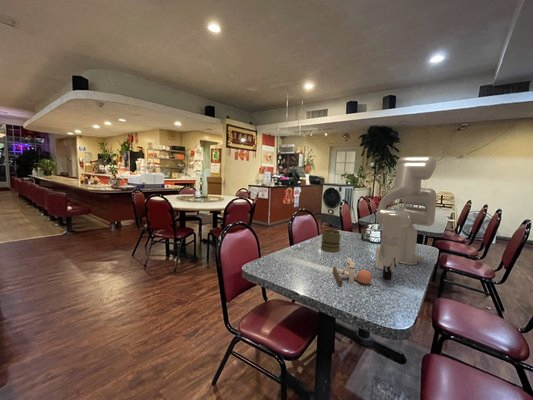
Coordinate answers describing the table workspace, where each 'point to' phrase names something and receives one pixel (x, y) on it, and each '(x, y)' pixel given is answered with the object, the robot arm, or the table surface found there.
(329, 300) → the table surface
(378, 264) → the white cup
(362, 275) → the ball
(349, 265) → the back pin right
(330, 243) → the piston
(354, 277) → the front pin
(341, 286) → the walnut rail
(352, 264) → the back pin left
